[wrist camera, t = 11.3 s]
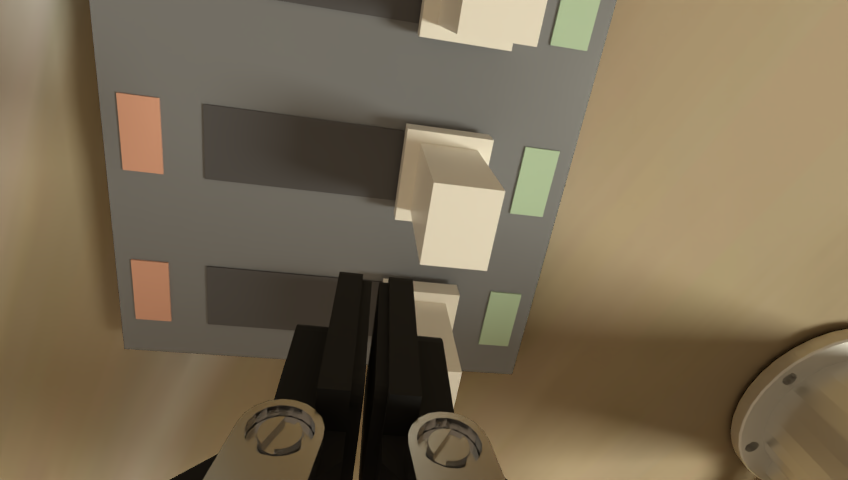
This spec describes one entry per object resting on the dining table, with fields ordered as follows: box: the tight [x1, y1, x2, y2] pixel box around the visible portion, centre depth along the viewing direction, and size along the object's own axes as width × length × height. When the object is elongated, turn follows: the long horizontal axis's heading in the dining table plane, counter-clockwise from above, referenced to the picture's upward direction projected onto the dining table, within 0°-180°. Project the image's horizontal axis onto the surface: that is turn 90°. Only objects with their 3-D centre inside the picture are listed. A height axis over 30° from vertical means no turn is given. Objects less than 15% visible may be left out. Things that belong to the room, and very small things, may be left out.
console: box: [89, 0, 617, 374], centre depth 23 cm, size 22×20×2 cm
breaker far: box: [383, 278, 462, 409], centre depth 23 cm, size 4×4×6 cm
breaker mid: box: [394, 123, 505, 271], centre depth 20 cm, size 4×4×6 cm
